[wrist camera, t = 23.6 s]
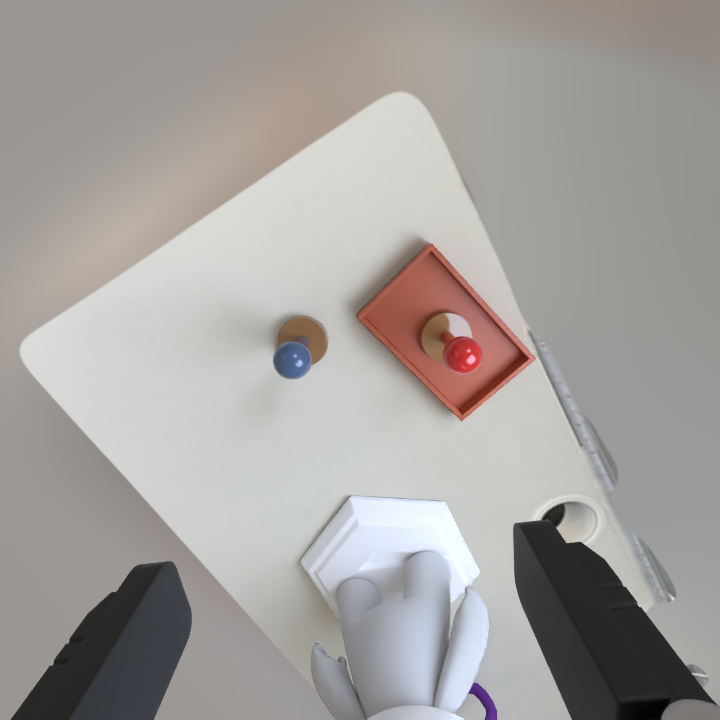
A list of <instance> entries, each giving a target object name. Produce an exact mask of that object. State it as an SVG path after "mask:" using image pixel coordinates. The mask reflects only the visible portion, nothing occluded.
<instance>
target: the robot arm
mask: <svg viewBox="0 0 720 720" xmlns="http://www.w3.org/2000/svg"><path fill="white" fill-rule="evenodd" d="M513 540H514V574H515V583H516V588H517V592H518V595H519V599H520V602H521V604H522V607H523V609H524V612H525V614H526V616H527V618H528V621H529V623H530V625H531V628H532V630H533V632H534V634H535V637H536V639H537V641H538V643H539V646H540V648H541V650H542V653H543V655H544V657H545V659H546V662H547V664H548V666H549V668H550V671H551V673H552V675H553V678H554V680H555V682H556V684H557V687H558V689H559V691H560V693H561V696H562V698H563V700H564V703H565V705H566V707H567V709H568V712H569V714H570V716H571V718H572V720H720V706H718V705H717V704H716V703H715V702H714V701H713V700H712V699H711V698H710V696H709V695H708V694H707V693H706V692H705V690H704V689H703V688H702V687H701V685H700V684H699V683H698V681H697V680H696V679H695V677H694V676H693V675H692V674H691V672H690V671H689V670H688V668H687V667H686V666H685V664H684V663H683V662H682V660H681V659H680V658H679V657H678V655H677V654H676V653H675V651H674V650H673V649H672V647H671V646H670V645H669V643H668V642H667V641H666V639H665V638H664V637H663V635H662V634H661V633H660V632H659V631H658V629H657V628H656V626H655V625H654V624H653V622H652V621H651V620H650V619H649V617H648V616H647V614H646V613H645V612H644V611H643V609H642V608H641V607H639V606H638V605H637V601H636V600H635V599H634V597H633V596H632V595H631V593H630V592H629V591H628V590H627V588H626V587H623V585H622V582H621V580H620V579H619V578H618V576H617V575H616V574H615V572H614V571H613V570H612V569H611V567H610V566H609V565H608V563H607V562H606V561H605V559H603V558H602V557H601V556H599V555H598V554H596V553H595V552H594V551H592V550H591V549H590V548H588V547H587V546H586V545H584V544H583V543H582V542H575V543H566V542H565V540H564V539H563V538H562V536H561V535H560V533H559V532H558V530H557V529H556V527H555V526H554V524H553V523H552V522H551V521H550V520H540V521H531V522H522V523H515V524H514V527H513ZM191 623H192V614H191V608H190V605H189V602H188V600H187V597H186V594H185V591H184V588H183V586H182V582H181V580H180V577H179V574H178V571H177V568H176V566H175V564H174V563H173V562H171V561H167V562H159V563H149V564H141V565H137V566H136V567H134V568H133V569H132V570H131V572H130V573H129V574H128V576H127V577H126V579H125V580H124V582H123V583H122V584H121V586H120V587H119V589H118V590H117V592H112V593H110V594H109V595H108V596H107V597H106V598H105V599H104V600H102V601H101V602H100V603H99V604H98V605H97V606H96V607H95V608H94V609H93V610H92V611H91V612H89V613H88V614H87V616H86V617H85V618H84V620H83V621H82V622H81V624H80V625H79V627H78V628H77V629H76V631H75V632H74V633H73V635H72V636H71V638H70V642H69V643H68V644H66V645H65V646H64V647H63V649H62V650H61V651H60V653H59V654H58V655H57V657H56V658H55V660H54V664H53V666H49V668H48V669H47V671H46V672H45V673H44V675H43V676H42V677H41V679H40V680H39V682H38V683H37V684H36V686H35V687H34V688H33V690H32V691H31V692H30V694H29V695H28V697H27V698H26V699H25V701H24V702H23V703H22V705H21V706H20V708H19V709H18V711H17V712H16V713H15V714H14V716H13V717H12V719H11V720H154V718H155V715H156V713H157V711H158V709H159V706H160V704H161V702H162V699H163V697H164V695H165V692H166V690H167V688H168V685H169V683H170V680H171V678H172V676H173V674H174V671H175V669H176V667H177V664H178V662H179V660H180V657H181V655H182V653H183V650H184V648H185V646H186V643H187V641H188V638H189V635H190V631H191Z"/></svg>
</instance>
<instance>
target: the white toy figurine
mask: <svg viewBox="0 0 720 720" xmlns="http://www.w3.org/2000/svg"><path fill="white" fill-rule="evenodd" d="M300 563H301V565H302V567H303V568H304V570H305V571H306V573H307V574H308V576H309V577H310V579H311V580H312V582H313V583H314V585H315V586H316V588H317V589H318V591H319V592H320V594H321V595H322V597H323V598H324V600H325V601H326V603H327V604H328V606H329V607H330V609H331V610H332V612H333V613H334V615H335V616H336V618H337V619H338V621H339V622H340V624H341V630H342V636H343V640H344V645H345V650H346V654H347V658H348V662H349V666H350V670H351V674H352V678H353V682H354V685H355V688H356V691H357V693H356V691H355V689H354V687H353V684H352V682H351V680H350V677H349V674H348V670H347V663H346V660H345V659H344V658H343V657H339V658H338V661H336V660H334V659H331V658H330V657H329V655H328V654H327V652H326V651H325V649H324V648H323V646H322V645H321V644H320V643H319V642H318V641H317V642H316V643H315V645H314V647H313V650H312V654H311V672H312V677H313V681H314V685H315V687H316V690H317V692H318V694H319V696H320V697H321V699H322V701H323V703H324V704H325V706H326V707H327V709H328V710H329V711H330V713H331V714H332V715H333V717H334V718H335V719H336V720H464V719H462V718H461V717H459V716H457V715H455V714H454V713H455V712H456V711H457V710H458V709H459V707H460V706H461V704H462V703H463V701H464V700H465V698H466V696H467V694H468V693H469V691H470V689H471V687H472V685H473V682H474V680H475V678H476V675H477V673H478V670H479V668H480V665H481V662H482V659H483V656H484V653H485V649H486V645H487V640H488V633H489V620H488V614H487V610H486V607H485V604H484V602H483V600H482V599H481V597H480V596H479V595H478V594H477V593H476V592H475V591H474V590H473V589H472V588H470V587H469V586H470V585H471V584H472V583H473V581H474V580H475V579H476V578H477V577H478V575H479V574H480V571H479V569H478V567H477V565H476V563H475V561H474V559H473V557H472V555H471V553H470V551H469V549H468V547H467V545H466V543H465V541H464V539H463V537H462V535H461V533H460V531H459V529H458V527H457V525H456V523H455V521H454V519H453V517H452V515H451V513H450V511H449V509H448V507H447V505H446V503H445V502H444V501H429V500H412V499H396V498H379V497H363V496H350V497H349V498H348V500H347V501H346V502H345V503H344V505H343V506H342V507H341V508H340V510H339V511H338V512H337V514H336V515H335V516H334V517H333V519H332V520H331V521H330V522H329V524H328V525H327V526H326V528H325V529H324V530H323V531H322V533H321V534H320V535H319V536H318V538H317V539H316V540H315V542H314V543H313V544H312V545H311V547H310V548H309V549H308V550H307V552H306V553H305V554H304V556H303V557H302V558H301V561H300ZM464 591H465V592H466V595H465V597H464V599H463V601H462V602H461V604H460V606H459V608H458V610H457V612H456V614H455V617H454V621H453V627H452V632H451V637H450V641H449V629H450V605H451V604H452V603H453V602H454V601H455V600H456V599H457V598H458V597H459V596H460V595H461V594H462V593H463V592H464ZM357 694H358V695H357Z"/></svg>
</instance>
